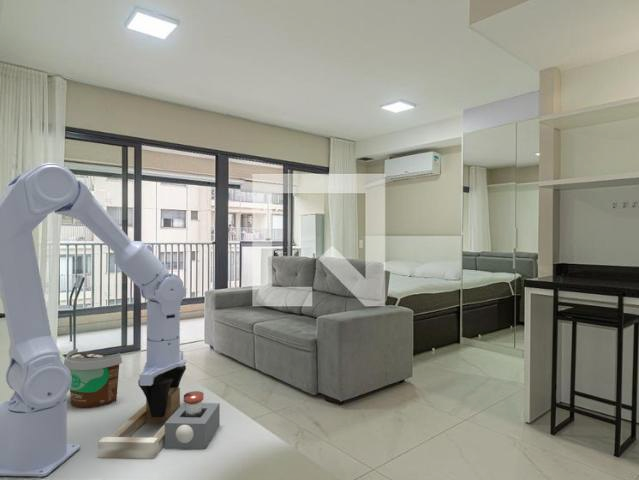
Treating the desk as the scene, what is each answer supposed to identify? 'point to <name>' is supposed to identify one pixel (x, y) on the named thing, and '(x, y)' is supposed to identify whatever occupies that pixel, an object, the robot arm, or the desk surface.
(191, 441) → the grey housing block
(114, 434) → the channel
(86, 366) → the food container
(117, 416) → the desk surface
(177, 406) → the block
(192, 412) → the plunger
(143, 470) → the desk surface
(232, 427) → the desk surface
